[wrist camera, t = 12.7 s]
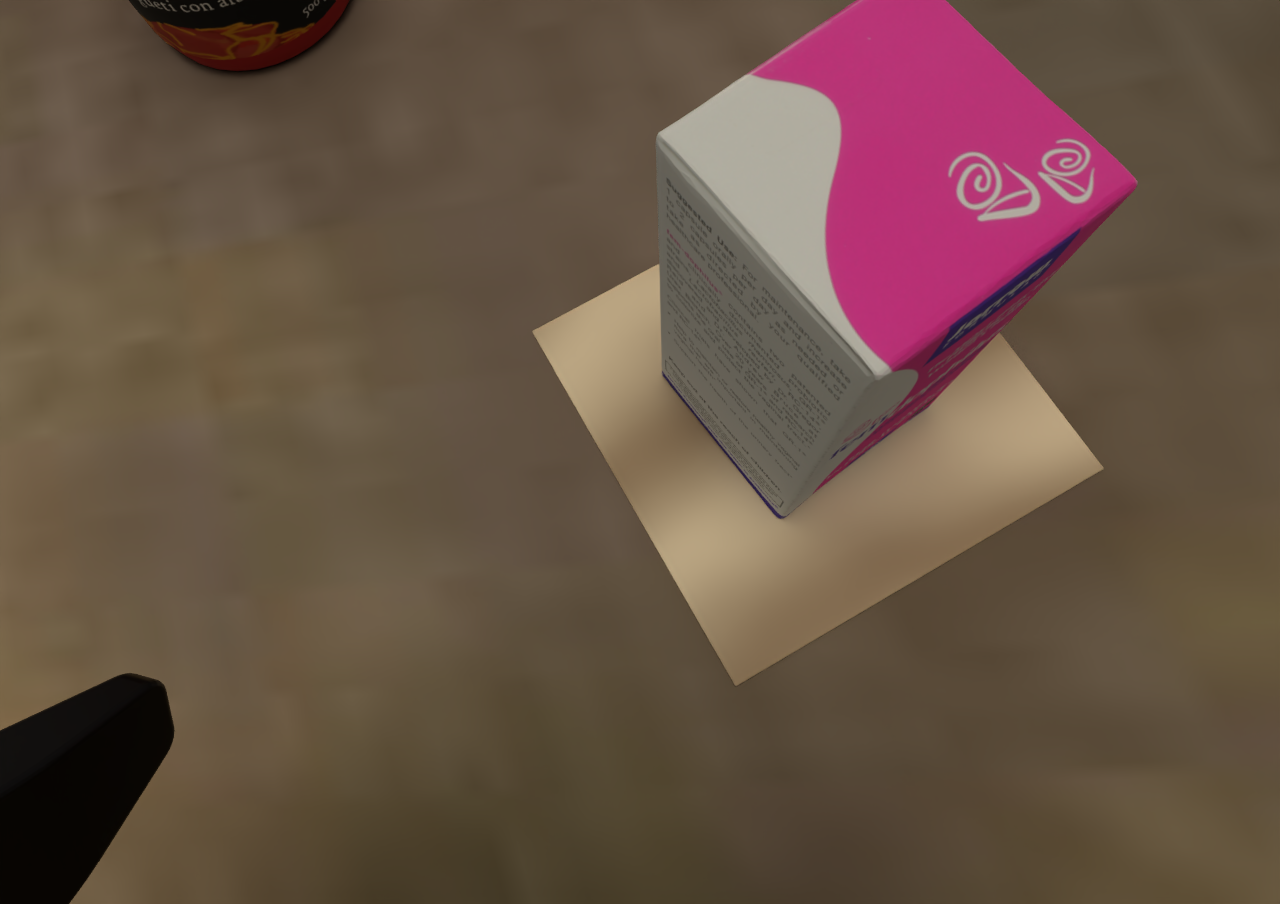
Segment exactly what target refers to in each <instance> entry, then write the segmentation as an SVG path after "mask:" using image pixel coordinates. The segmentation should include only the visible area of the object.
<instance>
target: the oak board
mask: <svg viewBox="0 0 1280 904" xmlns="http://www.w3.org/2000/svg"><path fill="white" fill-rule="evenodd" d="M532 332H533V334H534V336H535V337H536V339H537V341H538V343H539V344H540V346H541V348H542V350H543V351H544V353H545V355H546V357H547V358H548V360H549V362H550V364H551V365H552V367H553V369H554V371H555V372H556V374H557V376H558V378H559V379H560V381H561V383H562V385H563V386H564V388H565V390H566V392H567V393H568V395H569V397H570V399H571V400H572V402H573V404H574V405H575V407H576V409H577V411H578V412H579V414H580V416H581V418H582V419H583V421H584V423H585V425H586V426H587V428H588V430H589V432H590V433H591V435H592V437H593V439H594V440H595V442H596V444H597V446H598V447H599V449H600V451H601V453H602V454H603V456H604V458H605V460H606V461H607V463H608V465H609V467H610V468H611V470H612V472H613V474H614V475H615V477H616V479H617V481H618V482H619V484H620V486H621V488H622V489H623V491H624V493H625V495H626V496H627V498H628V500H629V501H630V503H631V505H632V507H633V508H634V510H635V512H636V514H637V515H638V517H639V519H640V521H641V522H642V524H643V526H644V528H645V529H646V531H647V533H648V535H649V536H650V538H651V540H652V542H653V543H654V545H655V547H656V549H657V550H658V552H659V554H660V556H661V557H662V559H663V561H664V563H665V564H666V566H667V568H668V570H669V571H670V573H671V575H672V577H673V578H674V580H675V582H676V584H677V585H678V587H679V589H680V591H681V592H682V594H683V596H684V597H685V599H686V601H687V603H688V604H689V606H690V608H691V610H692V611H693V613H694V615H695V617H696V618H697V620H698V622H699V624H700V625H701V627H702V629H703V631H704V632H705V634H706V636H707V638H708V639H709V641H710V643H711V645H712V646H713V648H714V650H715V652H716V653H717V655H718V657H719V659H720V660H721V662H722V664H723V666H724V667H725V669H726V671H727V673H728V674H729V676H730V678H731V680H732V681H733V683H734V685H735V686H737V685H739V684H741V683H742V682H744V681H746V680H747V679H749V678H751V677H752V676H754V675H756V674H757V673H759V672H761V671H763V670H764V669H766V668H768V667H769V666H771V665H773V664H774V663H776V662H778V661H779V660H781V659H783V658H784V657H786V656H788V655H790V654H791V653H793V652H795V651H796V650H798V649H800V648H801V647H803V646H805V645H806V644H808V643H810V642H812V641H813V640H815V639H817V638H818V637H820V636H822V635H823V634H825V633H827V632H828V631H830V630H832V629H834V628H835V627H837V626H839V625H840V624H842V623H844V622H845V621H847V620H849V619H850V618H852V617H854V616H856V615H857V614H859V613H861V612H862V611H864V610H866V609H867V608H869V607H871V606H872V605H874V604H876V603H878V602H879V601H881V600H883V599H884V598H886V597H888V596H889V595H891V594H893V593H894V592H896V591H898V590H899V589H901V588H903V587H905V586H906V585H908V584H910V583H911V582H913V581H915V580H916V579H918V578H920V577H921V576H923V575H925V574H927V573H928V572H930V571H932V570H933V569H935V568H937V567H938V566H940V565H942V564H943V563H945V562H947V561H949V560H950V559H952V558H954V557H955V556H957V555H959V554H960V553H962V552H964V551H965V550H967V549H969V548H971V547H972V546H974V545H976V544H977V543H979V542H981V541H982V540H984V539H986V538H987V537H989V536H991V535H992V534H994V533H996V532H998V531H999V530H1001V529H1003V528H1004V527H1006V526H1008V525H1009V524H1011V523H1013V522H1014V521H1016V520H1018V519H1020V518H1021V517H1023V516H1025V515H1026V514H1028V513H1030V512H1031V511H1033V510H1035V509H1036V508H1038V507H1040V506H1042V505H1043V504H1045V503H1047V502H1048V501H1050V500H1052V499H1053V498H1055V497H1057V496H1058V495H1060V494H1062V493H1064V492H1065V491H1067V490H1069V489H1070V488H1072V487H1074V486H1075V485H1077V484H1079V483H1080V482H1082V481H1084V480H1086V479H1087V478H1089V477H1091V476H1092V475H1094V474H1096V473H1097V472H1099V471H1101V470H1102V469H1104V468H1103V467H1102V466H1101V464H1100V463H1099V462H1098V460H1097V459H1096V458H1095V456H1094V455H1093V454H1092V453H1091V451H1090V450H1089V449H1088V447H1087V446H1086V445H1085V443H1084V442H1083V441H1082V439H1081V438H1080V437H1079V436H1078V434H1077V433H1076V432H1075V430H1074V429H1073V428H1072V426H1071V425H1070V424H1069V423H1068V421H1067V420H1066V419H1065V417H1064V416H1063V415H1062V413H1061V412H1060V411H1059V409H1058V408H1057V407H1056V406H1055V404H1054V403H1053V402H1052V400H1051V399H1050V398H1049V396H1048V395H1047V394H1046V392H1045V391H1044V390H1043V389H1042V387H1041V386H1040V385H1039V383H1038V382H1037V381H1036V379H1035V378H1034V377H1033V376H1032V374H1031V373H1030V372H1029V370H1028V369H1027V368H1026V366H1025V365H1024V364H1023V362H1022V361H1021V360H1020V359H1019V357H1018V356H1017V355H1016V353H1015V352H1014V351H1013V349H1012V348H1011V347H1010V346H1009V344H1008V343H1007V342H1006V340H1005V339H1004V338H1003V336H1002V335H1001V334H1000V332H999V333H998V334H997V335H996V336H995V337H994V338H993V339H992V340H991V341H990V342H989V344H988V345H987V346H986V347H985V348H984V349H983V350H982V351H981V352H980V353H979V354H978V355H977V356H976V357H975V359H974V360H973V361H972V362H971V363H970V364H969V365H968V366H967V367H966V368H965V369H964V370H963V371H962V372H961V373H960V374H959V376H958V377H957V378H956V379H955V380H954V381H953V382H952V383H951V384H950V385H949V386H948V387H947V388H946V389H945V390H944V391H943V392H942V393H941V394H940V395H939V396H938V397H937V398H936V400H935V401H934V402H933V403H932V404H931V405H930V406H929V407H928V408H927V409H925V410H924V411H922V412H921V413H919V414H918V415H917V416H915V417H914V418H912V419H911V420H910V421H908V422H906V423H905V424H903V425H902V426H900V427H899V428H898V429H896V430H895V431H894V432H892V433H891V434H890V435H888V436H887V437H886V438H884V439H883V440H882V441H881V442H879V443H878V444H877V445H875V446H874V447H873V448H871V449H870V450H869V451H867V452H866V453H865V454H864V455H862V456H861V457H860V458H858V459H857V460H856V461H854V462H853V463H852V464H850V465H849V466H848V467H847V468H845V469H844V470H843V471H841V472H840V473H839V474H838V475H836V476H835V477H834V478H832V479H831V480H830V481H829V482H827V483H826V484H825V485H823V486H822V487H821V488H820V489H818V490H817V491H816V492H815V493H814V494H812V495H811V496H810V497H809V498H808V499H806V500H805V501H804V502H803V503H802V504H801V505H799V506H798V507H797V508H796V509H795V510H794V511H792V512H791V513H790V514H789V515H788V516H787V517H785V518H783V519H779V518H777V517H776V516H775V515H774V514H773V513H772V511H771V510H770V509H769V508H768V506H767V505H766V504H765V503H764V501H763V500H762V499H761V498H760V496H759V495H758V494H757V493H756V491H755V490H754V489H753V488H752V486H751V485H750V484H749V483H748V482H747V480H746V479H745V478H744V477H743V475H742V474H741V473H740V472H739V470H738V469H737V468H736V466H735V465H734V464H733V463H732V461H731V460H730V459H729V458H728V456H727V455H726V454H725V453H724V451H723V450H722V449H721V448H720V446H719V445H718V444H717V443H716V441H715V440H714V439H713V438H712V436H711V435H710V434H709V433H708V431H707V430H706V429H705V428H704V426H703V425H702V424H701V423H700V422H699V420H698V419H697V418H696V416H695V415H694V414H693V413H692V412H691V410H690V409H689V408H688V407H687V406H686V405H685V403H684V402H683V401H682V399H681V398H679V396H678V395H677V394H676V392H675V391H674V390H673V389H672V388H671V386H670V385H669V383H668V382H667V380H666V379H665V378H664V377H663V375H662V351H661V313H660V270H659V264H658V265H656V266H654V267H652V268H650V269H648V270H647V271H645V272H643V273H641V274H639V275H637V276H635V277H633V278H631V279H630V280H628V281H626V282H624V283H622V284H620V285H618V286H616V287H615V288H613V289H611V290H609V291H607V292H605V293H603V294H601V295H599V296H598V297H596V298H594V299H592V300H590V301H588V302H586V303H584V304H583V305H581V306H579V307H577V308H575V309H573V310H571V311H569V312H568V313H566V314H564V315H562V316H560V317H558V318H556V319H554V320H552V321H551V322H549V323H547V324H545V325H543V326H541V327H539V328H537V329H536V330H534V331H532Z"/></svg>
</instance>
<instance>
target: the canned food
mask: <svg viewBox="0 0 1280 904" xmlns="http://www.w3.org/2000/svg"><path fill="white" fill-rule="evenodd" d="M129 1H130V2H131V4H132V5H133V6H134V7H135V8H136V10H137V11H138V12H139V13H140V15H141V16H142V17H143V18H144V19H145V21H146V22H147V23H148V24H149V26H150V27H151V28H152V29H153V30H154V32H155V33H156V34H158V35H159V36H160V37H161V38H162V39H163V40H164V41H165V42H166V43H167V44H169V45H170V46H172V47H173V48H175V49H176V50H178V51H179V52H181V53H182V54H184V55H185V56H187V57H189V58H190V59H192V60H194V61H196V62H198V63H200V64H202V65H205V66H209V67H212V68H216V69H221V70H232V71H243V70H254V69H260V68H264V67H268V66H271V65H275V64H278V63H281V62H283V61H285V60H287V59H290V58H292V57H294V56H296V55H298V54H300V53H301V52H303V51H304V50H306V49H307V48H309V47H311V46H312V45H314V44H315V43H316V42H317V41H318V40H319V39H320V38H322V37H323V36H324V35H325V34H326V33H327V32H328V31H329V30H330V29H331V28H332V26H333V25H334V24H335V23H336V21H337V20H338V19H339V18H340V17H341V15H342V13H343V11H344V9H345V8H346V6H347V4H348V2H349V0H129Z"/></svg>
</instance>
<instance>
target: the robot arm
mask: <svg viewBox="0 0 1280 904" xmlns="http://www.w3.org/2000/svg"><path fill="white" fill-rule="evenodd" d="M173 738H174V724H173V720H172V715H171V710H170V706H169V701H168V696H167V692H166V688H165V686H164V684H162V683H161V682H160V681H159V680H156V679H152V678H149V677H145V676H141V675H138V674H132V673H126V674H122V675H119V676H116V677H114V678H112V679H110V680H107V681H105V682H103V683H101V684H99V685H97V686H95V687H92V688H90V689H88V690H86V691H84V692H82V693H80V694H77V695H75V696H73V697H71V698H69V699H67V700H64V701H62V702H60V703H58V704H56V705H54V706H52V707H49V708H47V709H45V710H43V711H41V712H39V713H37V714H34V715H32V716H30V717H28V718H26V719H24V720H22V721H19V722H17V723H15V724H13V725H11V726H9V727H7V728H4V729H2V730H0V904H69V903H70V902H71V900H72V899H73V898H74V896H75V895H76V894H77V892H78V891H79V890H80V888H81V887H82V885H83V884H84V883H85V881H86V880H87V878H88V877H89V876H90V874H91V873H92V871H93V870H94V868H95V867H96V865H97V864H98V862H99V861H100V859H101V858H102V856H103V854H104V853H105V851H106V850H107V848H108V847H109V845H110V843H111V842H112V840H113V839H114V837H115V835H116V834H117V832H118V831H119V829H120V828H121V826H122V824H123V823H124V821H125V820H126V818H127V816H128V815H129V813H130V812H131V810H132V809H133V807H134V805H135V804H136V802H137V801H138V799H139V797H140V796H141V794H142V793H143V791H144V790H145V788H146V786H147V785H148V783H149V782H150V780H151V778H152V777H153V775H154V774H155V772H156V771H157V769H158V767H159V766H160V764H161V763H162V761H163V760H164V758H165V756H166V755H167V753H168V751H169V749H170V747H171V745H172V742H173Z"/></svg>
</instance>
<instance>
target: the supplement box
mask: <svg viewBox="0 0 1280 904" xmlns="http://www.w3.org/2000/svg"><path fill="white" fill-rule="evenodd" d="M656 162H657V194H658V230H659V262H660V264H659V270H660V313H661V351H662V375H663V377H664V378H665V379H666V380H667V382H668V383H669V385H670V386H671V388H672V389H673V390H674V391H675V392H676V394H677V395H678V396H679V398H681V399H682V401H683V402H684V403H685V405H686V406H687V407H688V408H689V409H690V410H691V412H692V413H693V414H694V415H695V416H696V418H697V419H698V420H699V422H700V423H701V424H702V425H703V426H704V428H705V429H706V430H707V431H708V433H709V434H710V435H711V436H712V438H713V439H714V440H715V441H716V443H717V444H718V445H719V446H720V448H721V449H722V450H723V451H724V453H725V454H726V455H727V456H728V458H729V459H730V460H731V461H732V463H733V464H734V465H735V466H736V468H737V469H738V470H739V472H740V473H741V474H742V475H743V477H744V478H745V479H746V480H747V482H748V483H749V484H750V485H751V486H752V488H753V489H754V490H755V491H756V493H757V494H758V495H759V496H760V498H761V499H762V500H763V501H764V503H765V504H766V505H767V506H768V508H769V509H770V510H771V511H772V513H773V514H774V515H775V516H776V517H777V518H779V519H783V518H785V517H787V516H788V515H789V514H790V513H791V512H792V511H794V510H795V509H796V508H797V507H798V506H799V505H801V504H802V503H803V502H804V501H805V500H806V499H808V498H809V497H810V496H811V495H812V494H814V493H815V492H816V491H817V490H818V489H820V488H821V487H822V486H823V485H825V484H826V483H827V482H829V481H830V480H831V479H832V478H834V477H835V476H836V475H838V474H839V473H840V472H841V471H843V470H844V469H845V468H847V467H848V466H849V465H850V464H852V463H853V462H854V461H856V460H857V459H858V458H860V457H861V456H862V455H864V454H865V453H866V452H867V451H869V450H870V449H871V448H873V447H874V446H875V445H877V444H878V443H879V442H881V441H882V440H883V439H884V438H886V437H887V436H888V435H890V434H891V433H892V432H894V431H895V430H896V429H898V428H899V427H900V426H902V425H903V424H905V423H906V422H908V421H910V420H911V419H912V418H914V417H915V416H917V415H918V414H919V413H921V412H922V411H924V410H925V409H927V408H928V407H929V406H930V405H931V404H932V403H933V402H934V401H935V400H936V398H937V397H938V396H939V395H940V394H941V393H942V392H943V391H944V390H945V389H946V388H947V387H948V386H949V385H950V384H951V383H952V382H953V381H954V380H955V379H956V378H957V377H958V376H959V374H960V373H961V372H962V371H963V370H964V369H965V368H966V367H967V366H968V365H969V364H970V363H971V362H972V361H973V360H974V359H975V357H976V356H977V355H978V354H979V353H980V352H981V351H982V350H983V349H984V348H985V347H986V346H987V345H988V344H989V342H990V341H991V340H992V339H993V338H994V337H995V336H996V335H997V334H998V333H999V332H1000V331H1001V330H1002V329H1003V328H1004V327H1005V326H1006V325H1007V324H1008V323H1009V322H1010V321H1011V319H1012V318H1013V317H1014V316H1015V315H1016V314H1017V313H1018V312H1019V311H1020V310H1021V309H1022V308H1023V306H1024V305H1025V304H1026V303H1027V302H1028V301H1029V300H1030V299H1031V298H1032V297H1033V296H1034V295H1035V294H1036V293H1037V292H1038V291H1039V290H1040V289H1041V288H1042V287H1043V285H1044V284H1045V283H1046V282H1047V281H1048V280H1049V279H1050V278H1051V277H1052V276H1053V275H1054V274H1055V273H1056V272H1057V270H1058V269H1059V268H1060V267H1061V266H1062V265H1063V264H1064V263H1065V262H1066V261H1067V260H1068V259H1069V258H1070V257H1071V256H1072V255H1073V254H1074V253H1075V251H1076V250H1077V249H1078V248H1079V247H1080V246H1081V245H1082V244H1083V243H1084V242H1085V241H1086V240H1087V239H1088V238H1089V237H1090V236H1091V234H1092V233H1093V232H1094V231H1095V230H1096V229H1097V228H1098V227H1099V226H1100V225H1101V224H1102V223H1103V222H1104V221H1105V220H1106V219H1107V218H1108V217H1109V216H1110V215H1111V214H1112V213H1113V212H1114V210H1115V209H1116V208H1117V207H1118V206H1119V205H1120V204H1121V203H1122V202H1123V201H1124V200H1125V199H1126V198H1127V197H1128V196H1129V195H1130V194H1131V193H1132V192H1133V191H1134V190H1135V188H1136V186H1137V180H1136V179H1135V178H1134V177H1133V176H1132V174H1131V173H1130V172H1129V171H1128V170H1127V169H1126V168H1125V167H1124V166H1123V165H1122V164H1121V163H1120V162H1119V161H1118V160H1117V159H1116V158H1115V157H1114V156H1112V155H1111V154H1110V153H1109V152H1108V151H1107V150H1106V149H1105V148H1104V147H1103V146H1101V145H1100V144H1099V143H1098V142H1097V141H1096V140H1095V139H1094V138H1093V137H1092V136H1091V135H1090V134H1089V133H1088V132H1086V131H1085V130H1084V129H1083V128H1082V127H1081V126H1080V125H1078V124H1077V123H1076V122H1075V121H1074V120H1073V119H1072V118H1070V117H1069V116H1068V115H1067V114H1066V113H1065V112H1064V111H1062V110H1061V109H1060V108H1059V107H1058V106H1057V105H1055V104H1054V103H1053V102H1052V101H1051V100H1050V99H1049V98H1047V97H1046V96H1045V95H1044V94H1043V93H1042V92H1041V91H1040V90H1039V89H1038V88H1037V87H1036V86H1034V85H1033V84H1032V83H1031V82H1030V81H1029V80H1028V79H1027V78H1026V77H1025V76H1024V75H1023V74H1022V73H1021V72H1019V71H1018V70H1017V69H1016V68H1015V67H1014V66H1013V65H1012V64H1011V63H1010V62H1009V61H1008V60H1007V59H1006V58H1005V57H1004V56H1003V55H1002V54H1001V53H1000V52H999V51H998V50H997V49H996V48H995V47H994V46H992V45H991V44H990V43H989V42H988V41H987V40H986V39H985V38H984V37H983V36H982V35H981V34H980V33H979V32H978V31H977V30H976V29H975V28H974V27H973V26H972V25H971V24H970V23H969V22H968V21H967V20H965V19H964V18H963V17H962V16H961V15H960V14H959V13H958V12H957V11H956V10H955V9H954V8H953V7H952V6H951V5H950V4H949V3H948V2H947V1H946V0H856V1H855V2H853V3H852V4H850V5H849V6H847V7H846V8H844V9H843V10H842V11H840V12H839V13H837V14H836V15H834V16H833V17H831V18H829V19H828V20H826V21H825V22H823V23H822V24H820V25H819V26H817V27H816V28H814V29H812V30H811V31H809V32H808V33H806V34H805V35H803V36H802V37H800V38H799V39H797V40H796V41H794V42H793V43H791V44H790V45H789V46H787V47H786V48H784V49H783V50H781V51H780V52H779V53H777V54H776V55H774V56H773V57H771V58H770V59H768V60H767V61H765V62H764V63H762V64H761V65H759V66H758V67H756V68H755V69H753V70H752V71H750V72H749V73H747V74H746V75H744V76H743V77H741V78H740V79H738V80H737V81H735V82H734V83H732V84H731V85H730V86H728V87H727V88H726V89H724V90H723V91H721V92H720V93H718V94H717V95H715V96H714V97H712V98H711V99H709V100H708V101H707V102H705V103H704V104H702V105H701V106H699V107H698V108H696V109H695V110H693V111H692V112H690V113H689V114H687V115H686V116H684V117H683V118H681V119H680V120H678V121H677V122H675V123H673V124H672V125H670V126H669V127H667V128H665V129H664V130H662V131H661V132H659V133H658V135H657V139H656Z"/></svg>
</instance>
